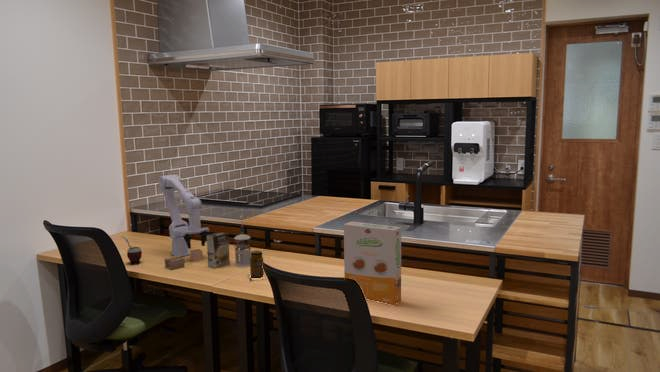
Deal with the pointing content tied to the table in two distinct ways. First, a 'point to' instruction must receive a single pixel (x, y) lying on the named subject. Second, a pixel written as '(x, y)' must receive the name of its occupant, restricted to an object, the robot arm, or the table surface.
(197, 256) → the block
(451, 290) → the table surface
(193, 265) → the table surface
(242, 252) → the french press
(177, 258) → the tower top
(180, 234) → the robot arm
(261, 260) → the condiment
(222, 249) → the coffee box
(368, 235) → the cereal box
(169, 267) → the tower base
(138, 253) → the mate gourd
